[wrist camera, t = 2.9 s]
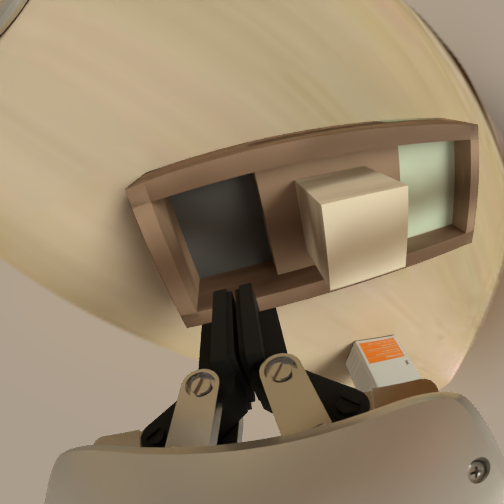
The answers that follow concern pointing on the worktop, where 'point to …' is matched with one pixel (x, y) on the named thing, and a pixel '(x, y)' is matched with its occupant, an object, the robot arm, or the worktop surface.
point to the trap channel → (296, 206)
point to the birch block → (354, 224)
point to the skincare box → (379, 364)
